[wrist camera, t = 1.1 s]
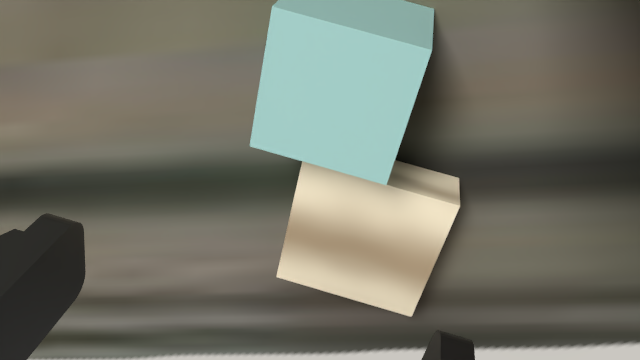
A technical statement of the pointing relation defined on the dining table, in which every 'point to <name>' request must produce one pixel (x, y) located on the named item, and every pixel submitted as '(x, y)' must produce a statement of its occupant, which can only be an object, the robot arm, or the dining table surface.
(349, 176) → the maple pedestal
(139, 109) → the dining table surface
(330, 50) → the teal cube
